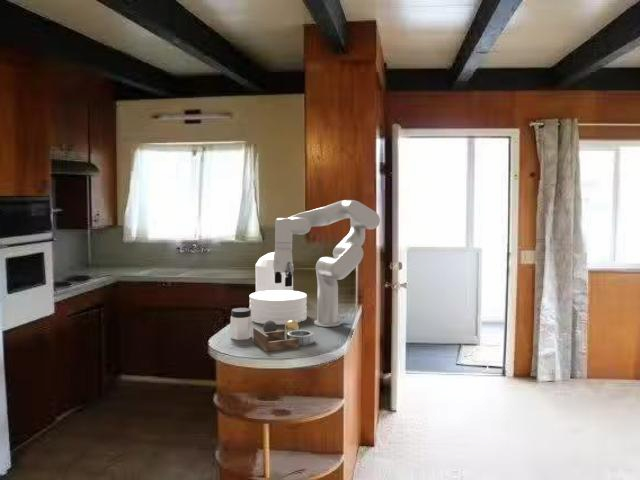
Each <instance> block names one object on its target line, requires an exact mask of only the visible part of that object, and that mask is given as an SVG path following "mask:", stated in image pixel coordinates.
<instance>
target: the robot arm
mask: <svg viewBox="0 0 640 480" xmlns="http://www.w3.org/2000/svg"><path fill="white" fill-rule="evenodd" d="M345 219H350V230H349V232H348V233H347V235H346V236H345V237H343V238H342V240H341V241H339V243H338V244H336V246H335V247H334V248H333V250H332V256H322V257H319V259H318V260H317V261H316V264H315V273H316V274H315V275H316V282H317V297H316V299H317V305H316V306H317V310H316V311H317V314H316V315H317V316H316V317H317V319H315V320H314V321H313V323H314V325H315V326H317V327H323V328H326V327H327V328H330V327H331V328H332V327H334V328H335V327H338V326H340V325H342V321H341V320H345V319H348V315H347V314H339V310H338V309H339V305H338V304H339V297H338V296H339V284H338V280H339V281H340V280H343V279H345V278H347V277H348V275H350V274H351V272H352V271H354V269H356V267H357V266H359V264H360V263H361V262H362V260H363V257H364V249H363V247H362V246H363V244H364V243H365V240H366V230H374V229H376V228H377V227H379V226H380V221H381V219H380V215H379V214H378V213H377V212H376V211H375V210H374V209H372V208H370V207H368V206H367V205H365V204H364V203H362V202H360V201H357V200H354V199H343V200H339V201H336V202H333V203H330V204H328V205H326V206H325V205H324V206H322V207H318V208H315V209H311V210H307V211H303V212H299V213H297V214H294V215H291V216H289V217H277V218H276V219H275V222H274V223H275V225H274V226H275V227H274V230H275V231H274V236H275V237H274V241H275V242H274V251H273V252H274V263H273V269H274V271H275V272H274V274H275V283H281V282H282V274H281V273H283V272H285V275H286V277H285V286H286V287H288V286H292V277H293V278H294V270H295V267H294V263H293V261H294V260H293V252H292V250H293V235H306V234H307V233H309V232H310V230H312V229H311V228H312V227H323V226H329V225H332V224H333V223H336V222H337V223H338V222H339V221H341V220H345Z"/></svg>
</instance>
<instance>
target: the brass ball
mask: <svg viewBox="0 0 640 480" xmlns="http://www.w3.org/2000/svg"><path fill="white" fill-rule="evenodd" d="M299 327H300V326H299V322H298V323H297V322H296V321H295V320H289V321H288V322H287V323H286V324H284V329H285V330H284V331H285V332H286V333H287V332H289V331H294V330H299Z"/></svg>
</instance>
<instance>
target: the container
mask: <svg viewBox="0 0 640 480" xmlns="http://www.w3.org/2000/svg"><path fill="white" fill-rule="evenodd" d="M274 252H275V251H273V252H268V253H266V254H264V255H263V256H261V257H259V259H257V262H256V263H255V266H254V267H255V271H254V272H255V292H259V291H267V290H292V291H294V276H293V277H292V286H288V287H286V286H285V277H286V275H285V272H283V273H281V274H282V282H281V283H275V274H274V272H275V271H274V269H273V263H274Z"/></svg>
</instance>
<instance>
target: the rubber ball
mask: <svg viewBox="0 0 640 480" xmlns="http://www.w3.org/2000/svg"><path fill="white" fill-rule="evenodd" d="M262 325H263V326H262V329H263V333H265V332H273V331H278V330H277V329H278V326H277V325H276V323H275V322H274V321H271V320H269V321H267V322H265V323H264V324H262Z"/></svg>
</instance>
